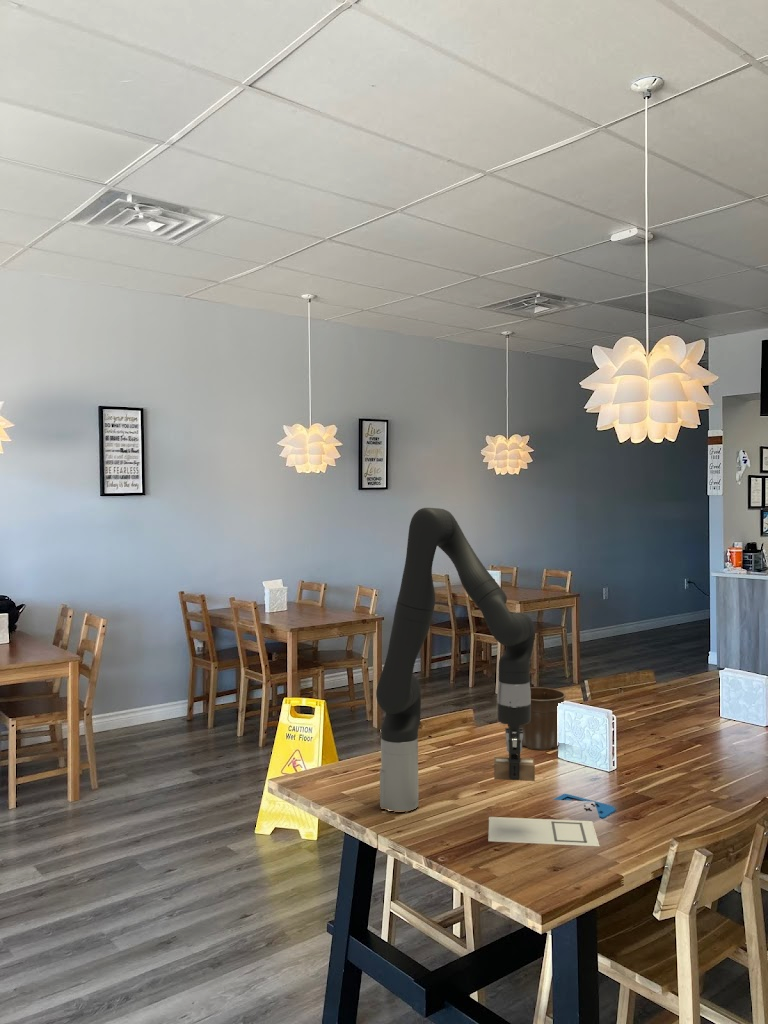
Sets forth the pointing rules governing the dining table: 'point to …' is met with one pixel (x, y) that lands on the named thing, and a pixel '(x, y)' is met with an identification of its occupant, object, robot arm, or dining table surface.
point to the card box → (524, 769)
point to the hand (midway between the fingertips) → (514, 774)
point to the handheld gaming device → (602, 808)
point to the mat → (542, 831)
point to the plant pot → (542, 719)
